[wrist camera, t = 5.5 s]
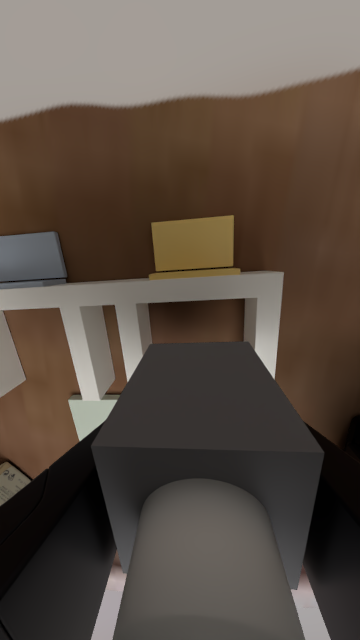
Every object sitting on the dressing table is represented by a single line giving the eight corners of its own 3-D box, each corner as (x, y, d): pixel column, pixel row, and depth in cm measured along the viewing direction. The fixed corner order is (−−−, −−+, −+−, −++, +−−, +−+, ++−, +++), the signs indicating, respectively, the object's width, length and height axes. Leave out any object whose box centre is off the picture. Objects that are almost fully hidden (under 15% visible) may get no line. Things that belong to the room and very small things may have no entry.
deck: (192, 394, 15) (192, 399, 14) (196, 461, 17) (196, 468, 16) (72, 394, 16) (68, 399, 15) (89, 457, 18) (86, 464, 17)
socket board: (269, 213, 11) (290, 198, 8) (259, 377, 14) (272, 400, 11) (-38, 241, 13) (-92, 235, 10) (13, 379, 16) (-20, 400, 13)
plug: (248, 341, 7) (426, 600, 2) (245, 422, 9) (345, 744, 3) (149, 344, 8) (22, 562, 2) (159, 421, 9) (92, 702, 3)
